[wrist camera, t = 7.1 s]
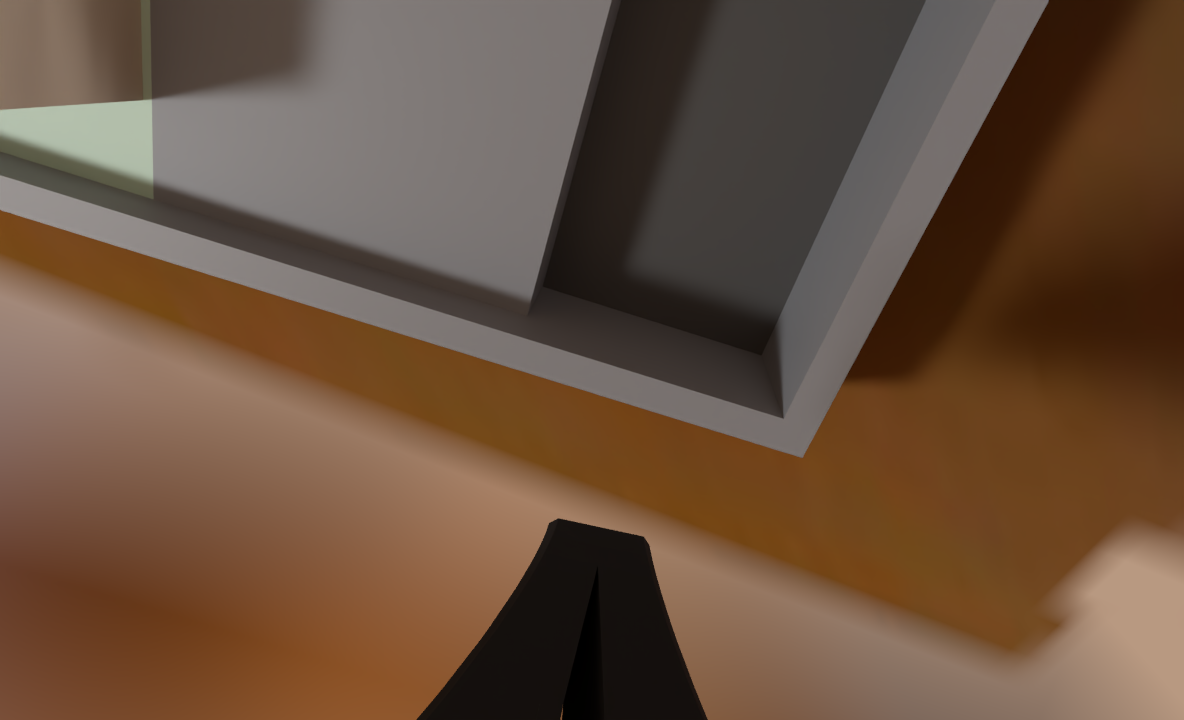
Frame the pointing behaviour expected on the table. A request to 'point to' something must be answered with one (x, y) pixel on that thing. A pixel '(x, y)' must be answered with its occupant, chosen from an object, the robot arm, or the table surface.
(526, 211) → the gray tray
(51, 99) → the cream block
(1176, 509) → the table surface
